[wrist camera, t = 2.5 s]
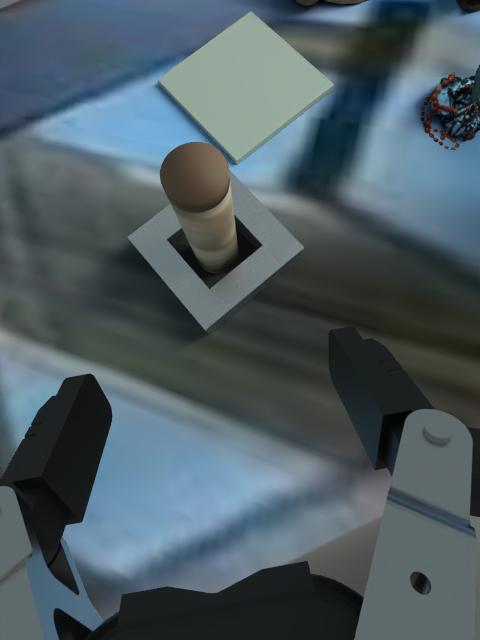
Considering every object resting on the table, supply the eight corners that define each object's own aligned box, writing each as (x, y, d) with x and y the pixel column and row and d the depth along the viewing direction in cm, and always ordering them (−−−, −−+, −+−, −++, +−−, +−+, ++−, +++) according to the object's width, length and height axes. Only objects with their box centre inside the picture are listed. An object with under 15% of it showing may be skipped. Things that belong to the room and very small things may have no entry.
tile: (251, 17, 35) (251, 11, 35) (332, 90, 33) (334, 84, 32) (159, 84, 34) (157, 79, 34) (237, 164, 32) (236, 160, 31)
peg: (220, 226, 31) (199, 129, 19) (247, 255, 30) (242, 174, 18) (188, 251, 30) (146, 170, 19) (214, 282, 30) (188, 217, 18)
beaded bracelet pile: (532, 122, 29) (499, 55, 25) (450, 180, 34) (412, 129, 30) (493, 92, 34) (461, 33, 30) (426, 146, 38) (391, 100, 35)
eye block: (225, 180, 32) (222, 163, 29) (300, 258, 30) (304, 247, 27) (137, 248, 31) (127, 237, 28) (209, 334, 29) (205, 330, 26)
